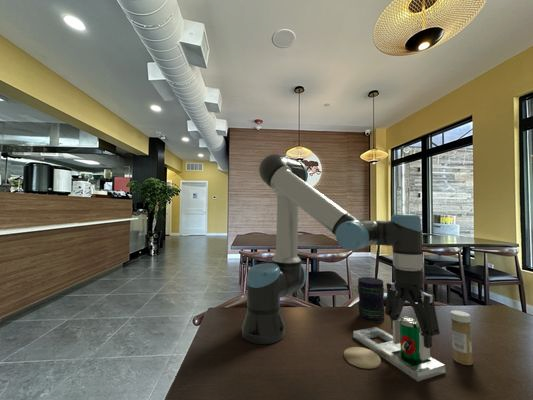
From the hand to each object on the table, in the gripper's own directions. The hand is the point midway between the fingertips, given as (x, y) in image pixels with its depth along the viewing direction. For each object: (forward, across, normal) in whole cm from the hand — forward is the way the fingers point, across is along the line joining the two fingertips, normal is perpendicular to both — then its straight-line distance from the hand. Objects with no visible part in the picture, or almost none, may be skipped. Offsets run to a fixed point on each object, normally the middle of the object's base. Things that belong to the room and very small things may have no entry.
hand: (410, 350), depth 69 cm
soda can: (+4, 0, 0) cm, 4 cm away
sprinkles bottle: (+4, -4, -15) cm, 16 cm away
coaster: (+4, +7, +11) cm, 14 cm away
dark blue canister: (+4, +29, -13) cm, 32 cm away
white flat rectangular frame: (+4, +6, 0) cm, 7 cm away
